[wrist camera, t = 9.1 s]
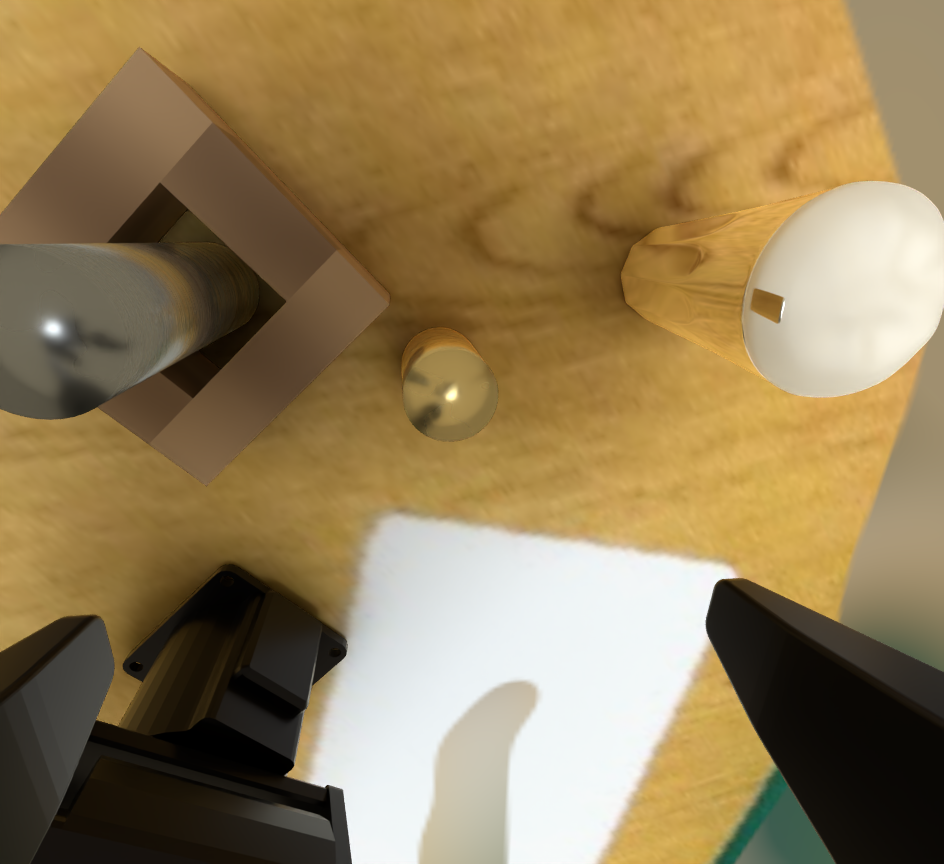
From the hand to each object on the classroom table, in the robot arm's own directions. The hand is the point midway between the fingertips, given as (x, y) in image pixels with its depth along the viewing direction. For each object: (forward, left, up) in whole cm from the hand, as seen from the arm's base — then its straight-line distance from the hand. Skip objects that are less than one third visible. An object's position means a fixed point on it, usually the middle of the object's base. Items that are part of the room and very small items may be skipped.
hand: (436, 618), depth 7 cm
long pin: (-2, +7, -12) cm, 14 cm away
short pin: (+1, 0, -12) cm, 12 cm away
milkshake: (+9, -3, -12) cm, 16 cm away
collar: (-2, +7, -12) cm, 14 cm away
